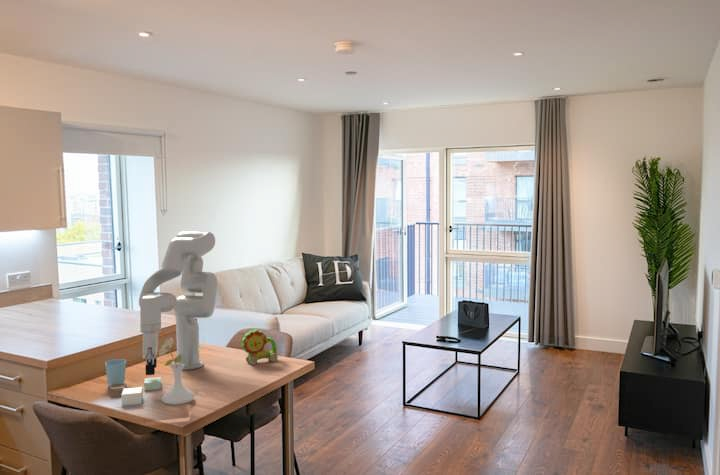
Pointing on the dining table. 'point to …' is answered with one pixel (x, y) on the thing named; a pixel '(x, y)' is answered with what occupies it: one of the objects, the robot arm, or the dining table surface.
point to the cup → (115, 371)
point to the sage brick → (152, 383)
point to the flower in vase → (178, 391)
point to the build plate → (132, 404)
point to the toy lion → (258, 347)
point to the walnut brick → (117, 389)
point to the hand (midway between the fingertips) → (151, 371)
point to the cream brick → (132, 396)
